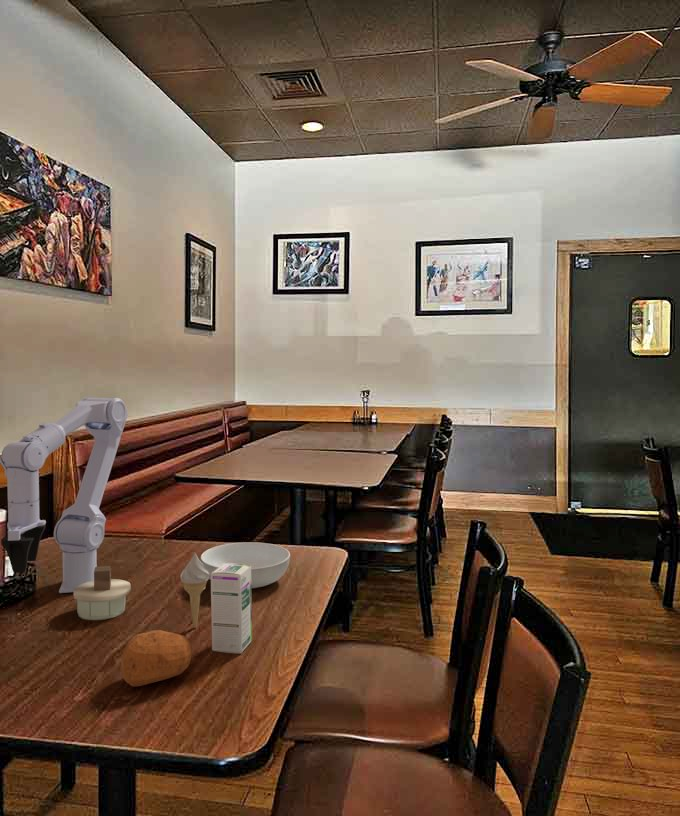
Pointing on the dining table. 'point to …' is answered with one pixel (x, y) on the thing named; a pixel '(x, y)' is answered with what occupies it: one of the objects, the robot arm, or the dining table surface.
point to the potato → (155, 657)
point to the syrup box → (231, 608)
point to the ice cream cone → (194, 583)
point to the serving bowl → (250, 560)
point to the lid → (102, 587)
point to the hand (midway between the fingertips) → (24, 566)
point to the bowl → (100, 609)
